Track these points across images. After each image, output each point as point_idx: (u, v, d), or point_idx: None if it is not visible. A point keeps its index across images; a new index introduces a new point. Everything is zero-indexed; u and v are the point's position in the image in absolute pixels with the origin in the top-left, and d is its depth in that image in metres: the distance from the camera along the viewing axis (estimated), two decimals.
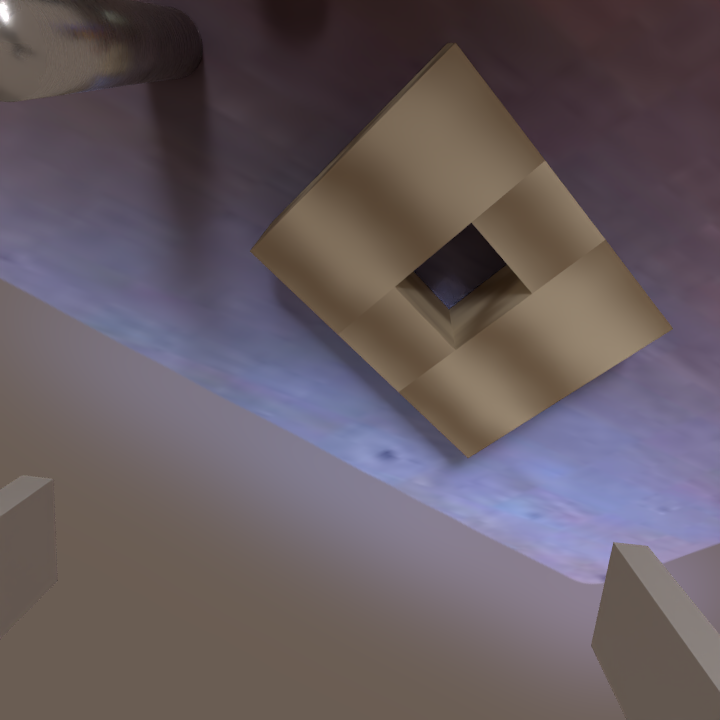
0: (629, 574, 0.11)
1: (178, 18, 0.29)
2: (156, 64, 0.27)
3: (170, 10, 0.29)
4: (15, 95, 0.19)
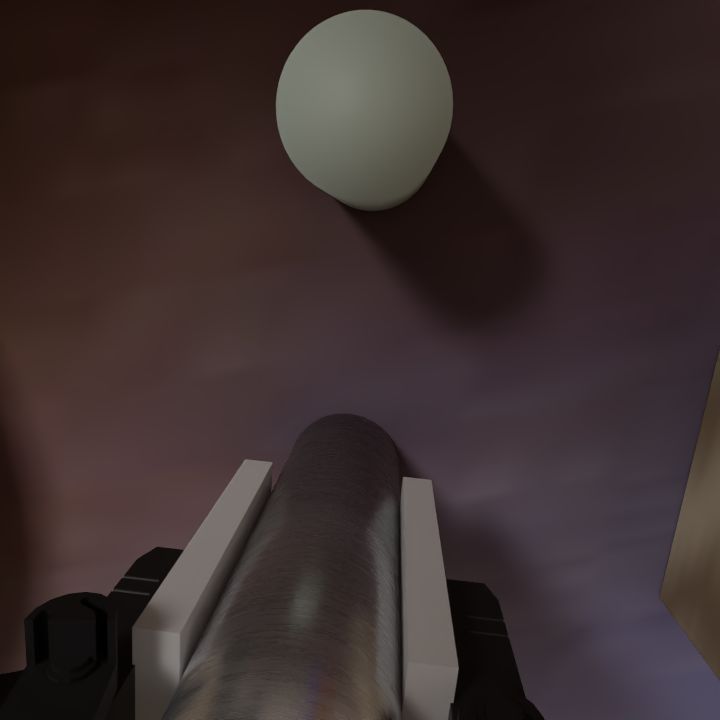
0: (402, 499, 0.14)
1: (347, 437, 0.16)
2: (399, 575, 0.12)
3: (328, 435, 0.16)
4: None
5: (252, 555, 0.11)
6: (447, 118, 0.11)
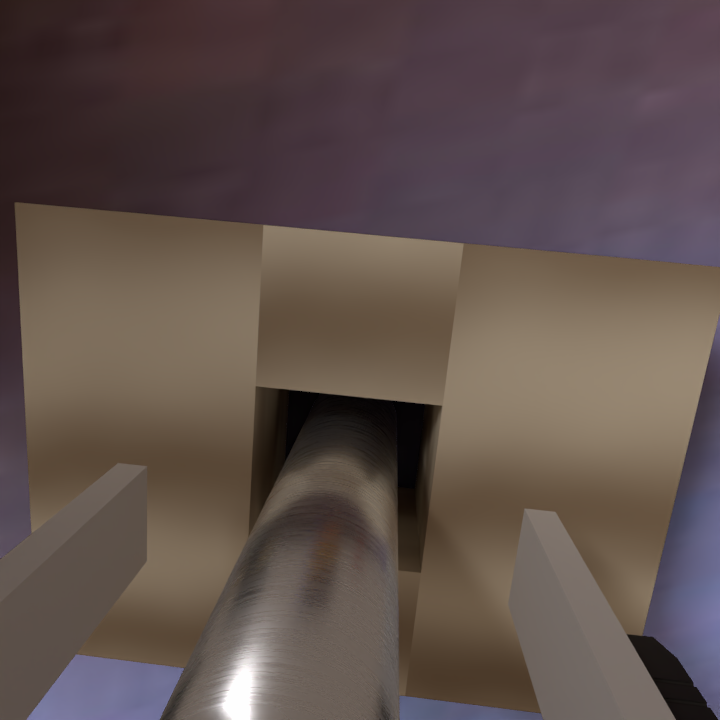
0: (532, 535, 0.13)
1: None
2: (396, 481, 0.16)
3: None
4: None
5: (294, 460, 0.15)
6: None
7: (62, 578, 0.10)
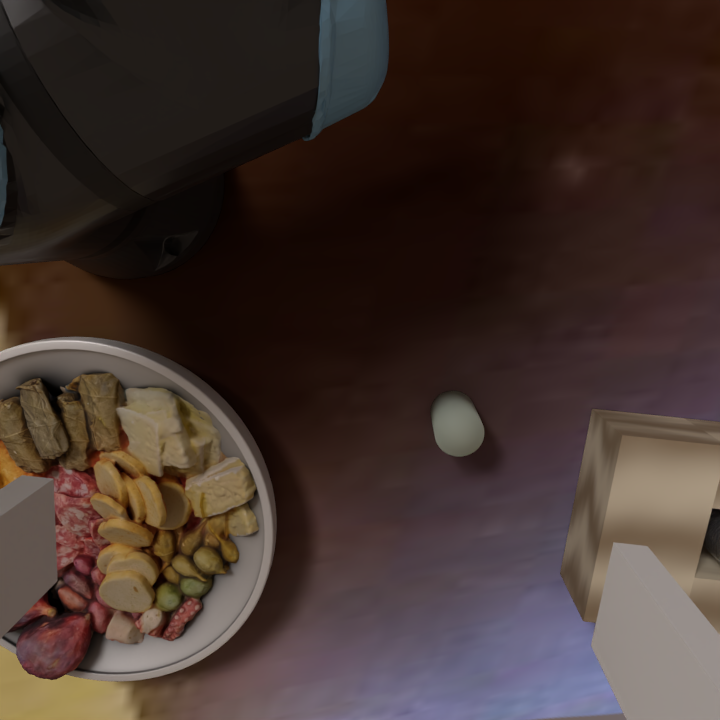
0: (630, 574, 0.11)
1: None
2: None
3: None
4: None
5: None
6: (482, 436, 0.40)
7: None
